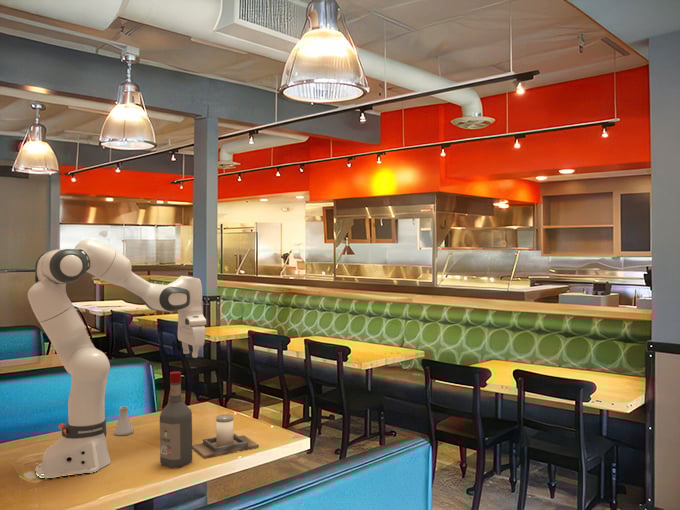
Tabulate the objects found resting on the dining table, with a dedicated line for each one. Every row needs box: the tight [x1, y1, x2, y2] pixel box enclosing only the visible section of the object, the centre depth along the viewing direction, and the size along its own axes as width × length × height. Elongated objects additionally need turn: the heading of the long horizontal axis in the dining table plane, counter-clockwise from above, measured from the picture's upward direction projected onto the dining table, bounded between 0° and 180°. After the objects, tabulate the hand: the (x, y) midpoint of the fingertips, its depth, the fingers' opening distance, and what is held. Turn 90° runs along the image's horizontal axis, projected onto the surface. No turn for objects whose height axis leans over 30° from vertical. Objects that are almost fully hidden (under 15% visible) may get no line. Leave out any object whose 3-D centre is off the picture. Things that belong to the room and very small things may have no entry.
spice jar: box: [215, 414, 235, 447], centre depth 214 cm, size 6×6×10 cm
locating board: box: [192, 433, 259, 460], centre depth 214 cm, size 20×13×2 cm, turn 123°
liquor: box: [159, 370, 193, 469], centre depth 199 cm, size 9×9×30 cm
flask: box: [113, 406, 135, 436], centre depth 232 cm, size 7×7×10 cm
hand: (190, 355), depth 225 cm, fingers open, 8 cm apart
